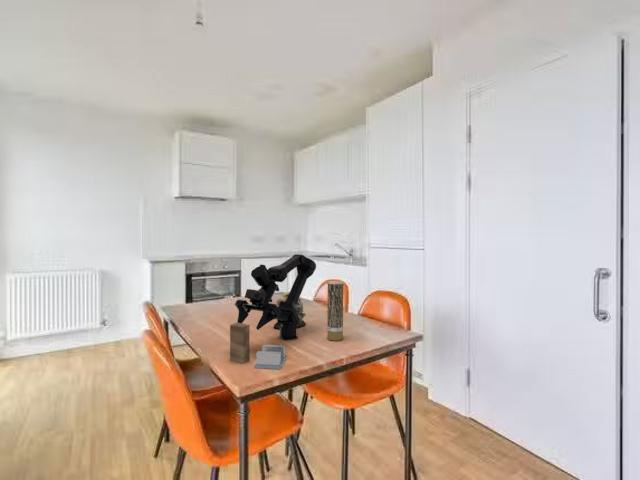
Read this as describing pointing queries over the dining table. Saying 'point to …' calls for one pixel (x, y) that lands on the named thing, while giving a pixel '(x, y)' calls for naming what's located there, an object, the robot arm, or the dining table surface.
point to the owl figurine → (299, 311)
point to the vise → (271, 357)
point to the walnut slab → (239, 342)
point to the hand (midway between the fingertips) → (247, 327)
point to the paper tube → (335, 311)
